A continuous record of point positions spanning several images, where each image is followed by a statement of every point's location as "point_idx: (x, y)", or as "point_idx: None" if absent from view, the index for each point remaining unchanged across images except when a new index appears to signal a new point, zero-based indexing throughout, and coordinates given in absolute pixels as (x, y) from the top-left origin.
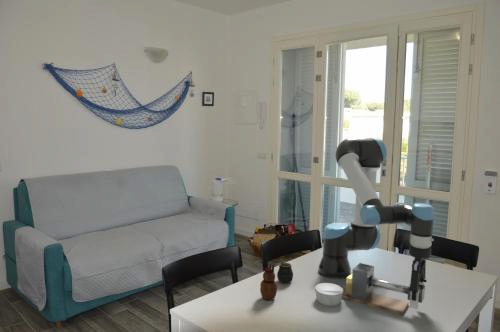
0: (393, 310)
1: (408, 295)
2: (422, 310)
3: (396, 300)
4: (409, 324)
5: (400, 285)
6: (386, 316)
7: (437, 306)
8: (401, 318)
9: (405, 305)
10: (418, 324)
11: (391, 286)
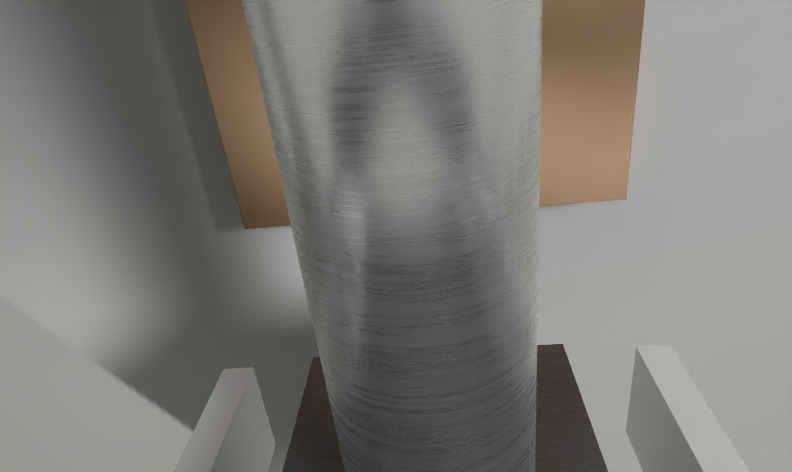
0: (219, 107)
1: (297, 431)
2: (556, 342)
3: (587, 24)
4: (120, 325)
5: (387, 352)
6: (50, 63)
7: (764, 427)
8: (172, 227)
9: None
10: (198, 383)
11: (258, 58)
